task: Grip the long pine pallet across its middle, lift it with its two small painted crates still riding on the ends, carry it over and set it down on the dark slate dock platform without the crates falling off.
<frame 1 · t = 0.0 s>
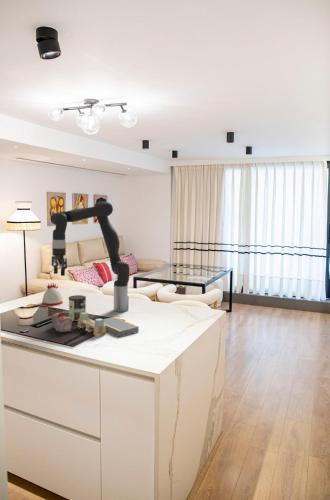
hand: (59, 274, 216), 29 cm above the countertop, fingers open, 8 cm apart
crate a: (99, 325, 200), point 5 cm above the countertop, touching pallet
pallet: (91, 330, 207), on the countertop, touching crate a, crate b
coffee can: (77, 319, 227), on the countertop
crate b: (83, 319, 212), point 5 cm above the countertop, touching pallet
kitchen timer: (52, 303, 264), on the countertop
dock: (116, 328, 211), on the countertop
food item: (61, 330, 207), on the countertop
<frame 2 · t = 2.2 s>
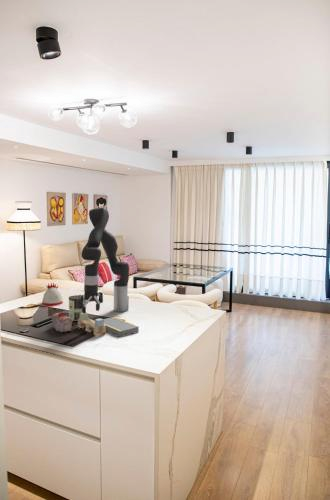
hand: (90, 311, 205), 11 cm above the countertop, fingers open, 8 cm apart
nothing on the countertop moved.
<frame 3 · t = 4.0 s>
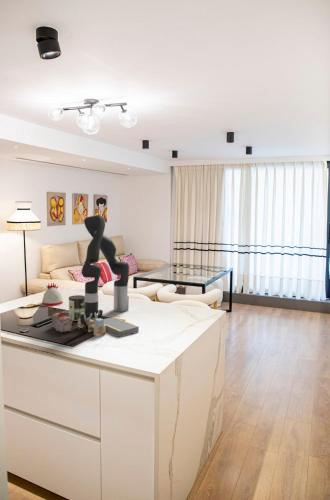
hand: (91, 329, 207), 1 cm above the countertop, fingers closed on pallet, 5 cm apart
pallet: (91, 330, 207), on the countertop, touching crate a, crate b, gripper
everything else where it was.
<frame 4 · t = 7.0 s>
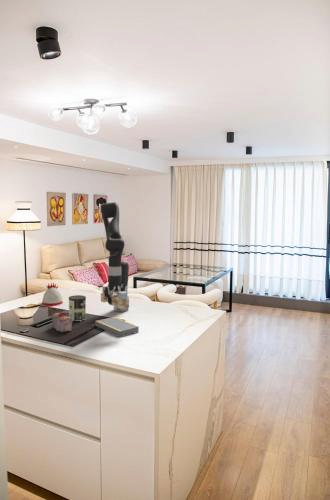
hand: (114, 303, 209), 15 cm above the countertop, fingers closed on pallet, 5 cm apart
crate a: (122, 298, 203), point 19 cm above the countertop, touching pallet
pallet: (114, 304, 210), point 14 cm above the countertop, touching crate a, crate b, gripper
crate b: (106, 293, 215), point 20 cm above the countertop, touching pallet
everything else where it was.
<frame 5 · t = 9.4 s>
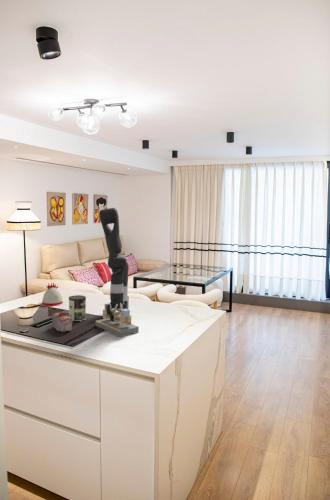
hand: (116, 320, 211), 5 cm above the countertop, fingers closed on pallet, 5 cm apart
crate a: (125, 315, 205), point 9 cm above the countertop, touching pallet
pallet: (116, 321, 211), point 4 cm above the countertop, touching crate a, crate b, gripper
crate b: (108, 309, 216), point 9 cm above the countertop, touching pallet
everything else where it was.
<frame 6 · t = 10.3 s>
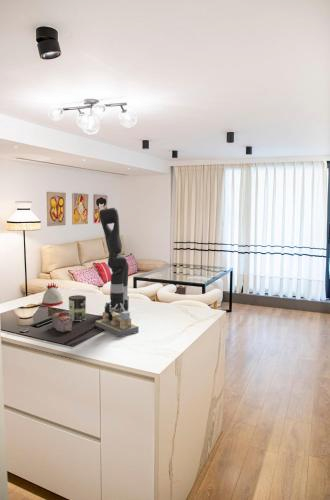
hand: (116, 318, 211), 6 cm above the countertop, fingers open, 8 cm apart
crate a: (125, 318, 205), point 8 cm above the countertop, touching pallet
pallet: (116, 323, 211), point 3 cm above the countertop, touching crate a, crate b, dock
crate b: (108, 312, 216), point 8 cm above the countertop, touching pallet
everything else where it was.
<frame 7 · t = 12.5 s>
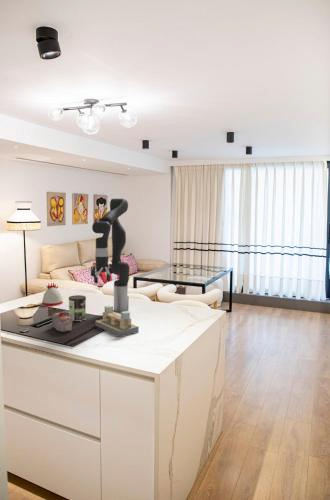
hand: (102, 282, 219), 25 cm above the countertop, fingers open, 8 cm apart
nothing on the countertop moved.
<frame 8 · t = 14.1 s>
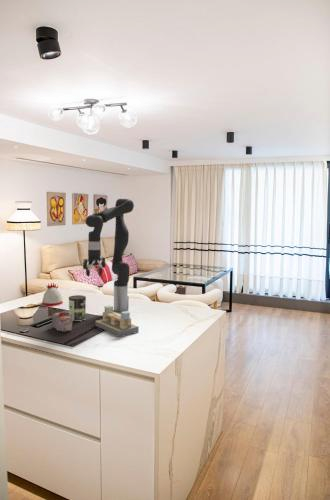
hand: (94, 275, 223), 28 cm above the countertop, fingers open, 8 cm apart
nothing on the countertop moved.
at the end: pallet inside the target area on the dock (0.1 cm from its centre), point 3.0 cm above the dock's base; crate a inside the target area on the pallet (0.5 cm from its centre), point 5.0 cm above the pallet's base; crate b inside the target area on the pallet (0.5 cm from its centre), point 5.0 cm above the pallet's base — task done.
